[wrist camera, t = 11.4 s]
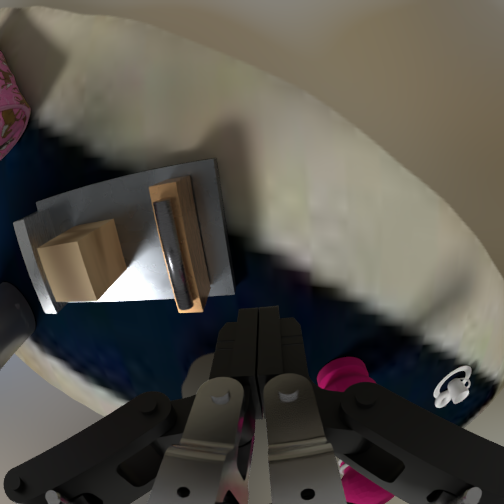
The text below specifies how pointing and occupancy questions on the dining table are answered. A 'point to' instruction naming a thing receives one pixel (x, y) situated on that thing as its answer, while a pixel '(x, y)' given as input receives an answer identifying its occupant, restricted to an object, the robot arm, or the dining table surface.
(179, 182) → the sliding jaw
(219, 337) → the robot arm
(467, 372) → the white looped part
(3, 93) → the pencil case
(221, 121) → the dining table surface
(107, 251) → the oak block
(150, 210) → the vise base
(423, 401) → the dining table surface
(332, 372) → the pepper mill
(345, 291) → the dining table surface
